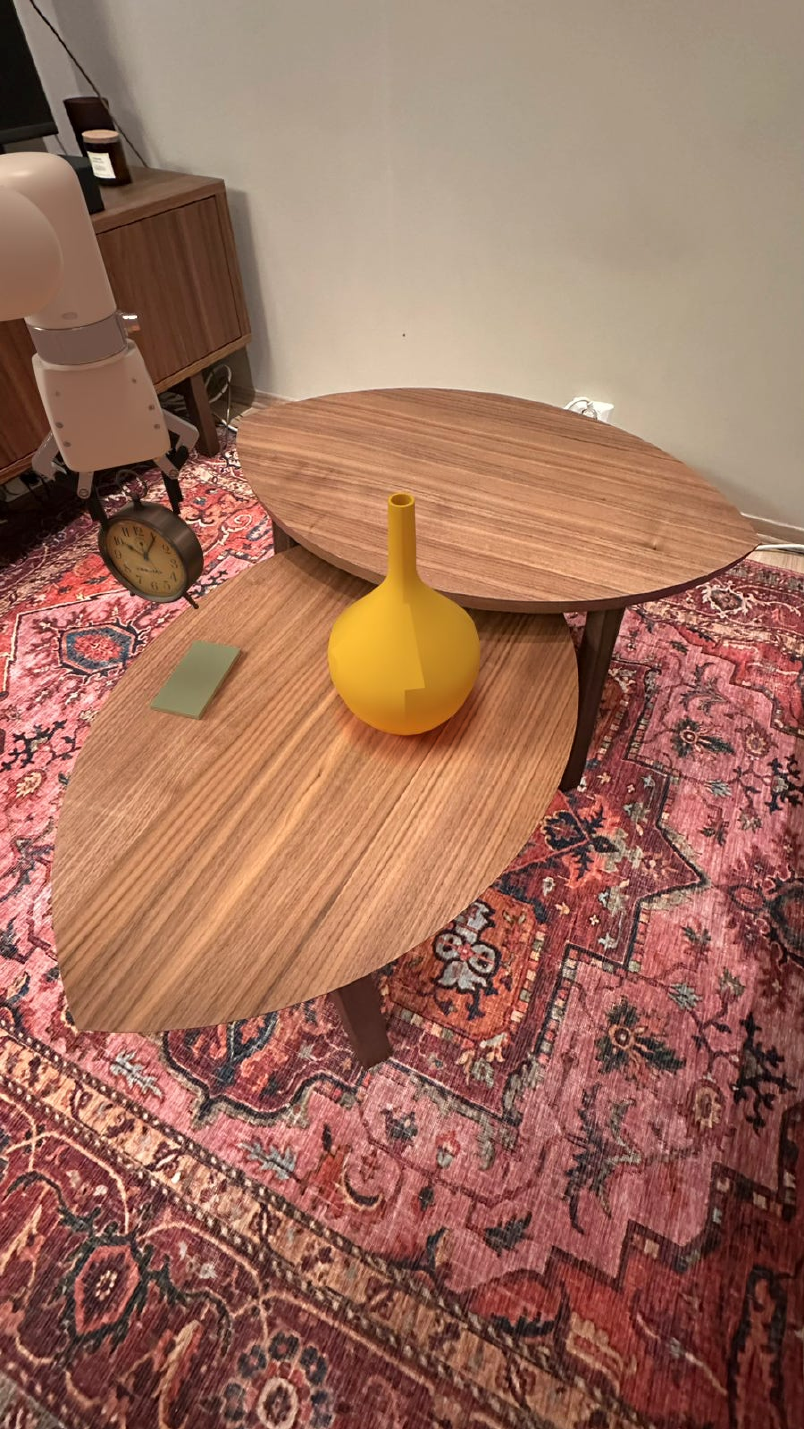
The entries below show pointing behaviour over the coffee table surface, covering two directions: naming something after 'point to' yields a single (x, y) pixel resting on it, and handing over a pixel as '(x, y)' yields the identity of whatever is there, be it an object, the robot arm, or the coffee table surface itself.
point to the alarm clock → (151, 550)
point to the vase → (404, 643)
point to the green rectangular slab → (196, 679)
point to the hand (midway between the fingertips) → (140, 515)
